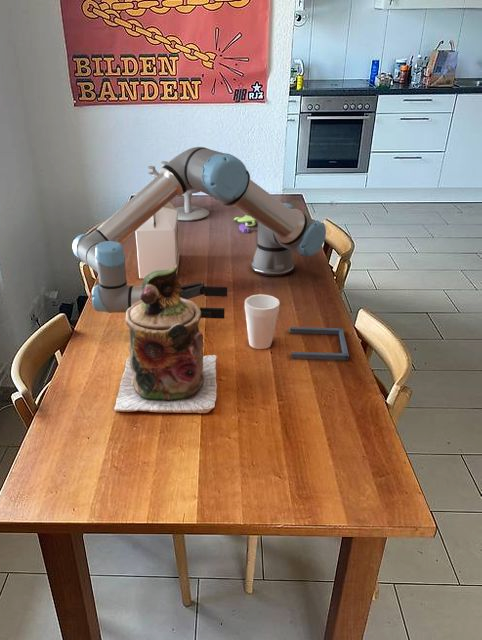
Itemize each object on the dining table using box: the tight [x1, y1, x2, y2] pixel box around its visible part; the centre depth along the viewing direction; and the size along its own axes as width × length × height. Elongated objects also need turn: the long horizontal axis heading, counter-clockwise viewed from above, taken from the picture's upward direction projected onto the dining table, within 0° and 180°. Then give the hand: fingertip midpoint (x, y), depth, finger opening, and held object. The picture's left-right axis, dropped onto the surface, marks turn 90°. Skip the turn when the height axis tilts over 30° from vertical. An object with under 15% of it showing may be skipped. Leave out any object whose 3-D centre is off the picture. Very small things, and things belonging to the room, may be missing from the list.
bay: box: [289, 326, 350, 361], centre depth 162 cm, size 15×15×2 cm
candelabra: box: [147, 160, 210, 222], centre depth 255 cm, size 34×35×27 cm
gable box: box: [135, 201, 180, 280], centre depth 205 cm, size 22×13×28 cm, turn 179°
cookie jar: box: [114, 264, 218, 414], centre depth 138 cm, size 25×25×32 cm
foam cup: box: [243, 293, 281, 350], centre depth 161 cm, size 10×9×13 cm
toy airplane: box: [233, 214, 258, 234], centre depth 246 cm, size 18×27×6 cm
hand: (226, 302), depth 158 cm, fingers open, 13 cm apart
